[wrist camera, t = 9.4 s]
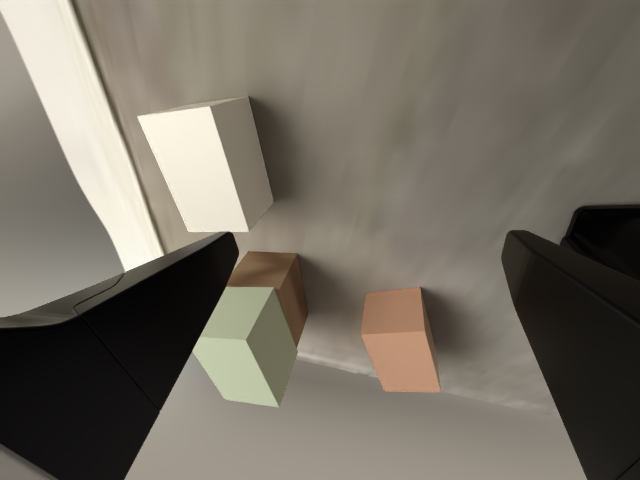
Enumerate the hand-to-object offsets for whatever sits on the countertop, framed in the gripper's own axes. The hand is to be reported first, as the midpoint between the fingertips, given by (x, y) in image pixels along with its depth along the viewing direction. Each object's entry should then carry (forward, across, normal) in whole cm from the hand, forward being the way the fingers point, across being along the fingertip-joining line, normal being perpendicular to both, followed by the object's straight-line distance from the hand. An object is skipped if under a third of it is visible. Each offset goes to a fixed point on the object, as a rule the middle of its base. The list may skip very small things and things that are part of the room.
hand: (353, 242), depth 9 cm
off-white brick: (+12, +11, 0) cm, 16 cm away
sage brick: (+7, +10, +13) cm, 18 cm away
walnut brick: (+12, +10, +13) cm, 21 cm away
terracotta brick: (+12, -2, +17) cm, 21 cm away
